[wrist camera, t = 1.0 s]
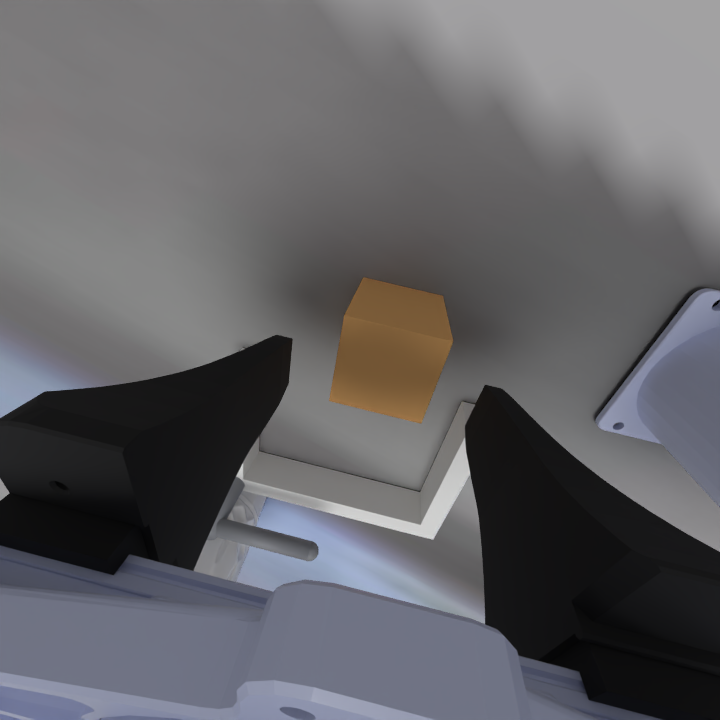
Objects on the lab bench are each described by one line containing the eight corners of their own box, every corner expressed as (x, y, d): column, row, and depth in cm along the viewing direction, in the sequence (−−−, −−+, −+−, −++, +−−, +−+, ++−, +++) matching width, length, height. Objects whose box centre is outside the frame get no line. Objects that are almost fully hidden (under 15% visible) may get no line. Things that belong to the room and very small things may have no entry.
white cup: (240, 524, 29) (166, 673, 20) (165, 474, 26) (46, 617, 18) (294, 492, 25) (232, 657, 17) (213, 432, 23) (93, 584, 14)
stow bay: (482, 406, 18) (508, 496, 13) (430, 507, 23) (435, 600, 18) (240, 347, 19) (175, 412, 14) (242, 458, 24) (194, 536, 19)
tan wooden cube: (442, 295, 16) (453, 341, 11) (419, 363, 18) (421, 423, 13) (363, 277, 16) (344, 315, 11) (349, 346, 18) (329, 401, 14)
